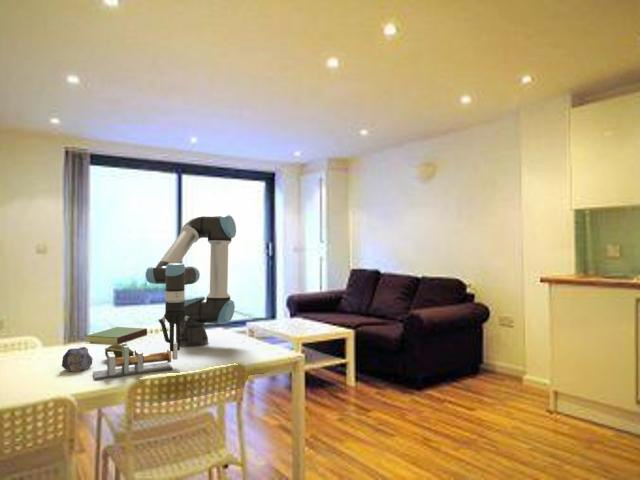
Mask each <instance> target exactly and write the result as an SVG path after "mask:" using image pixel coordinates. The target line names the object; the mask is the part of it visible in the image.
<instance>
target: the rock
mask: <svg viewBox="0 0 640 480" xmlns="http://www.w3.org/2000/svg"><path fill="white" fill-rule="evenodd" d="M92 365H93V357H92V356H91V354H90V352H89V349H88V347H85V346H81V347H79V348H70V349H68V350H67V351H66V352H65V353H64V354H63V356H62V364H61V367H62V368H63V369H65V371H68V372H70V373H75V372H76V373H77V372H83V371H86V370H87V369H88V368H90V367H91V366H92Z"/></svg>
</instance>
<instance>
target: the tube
mask: <svg viewBox="0 0 640 480" xmlns="http://www.w3.org/2000/svg"><path fill="white" fill-rule="evenodd" d="M163 362H168V363H169V364H170V363H171V362H172V351H170V349H167V350H166V351H163V352H157V353H147V354H143V365H147V364H155V363H163ZM135 365H137V355H136V356H135V355H134V356H129V366H135ZM122 366H124V357H119V358H115V368H119V367H120V368H122Z"/></svg>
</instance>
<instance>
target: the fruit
mask: <svg viewBox="0 0 640 480" xmlns="http://www.w3.org/2000/svg"><path fill="white" fill-rule="evenodd" d="M107 352H113V353H114V355H115V358H119V357H122V344H112V345H110V346H108V347H106V348H104V355H105V358H107ZM129 356H135V351H133V350H132V349H131V348H129Z"/></svg>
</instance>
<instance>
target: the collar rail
mask: <svg viewBox="0 0 640 480" xmlns="http://www.w3.org/2000/svg"><path fill="white" fill-rule="evenodd" d="M121 345H122V357H124V366H121V367H120V368H119V367H117V368H116V367H115V355H114V353H113V352H107V357H106V358H107V359H106V361H107V362H106V364H107V365H106V367H107V369H103V370H96V371H92V376H93V381H102V380H107V379H109V380H110V379H116V378H123V377H131V376H139V375H146V374H153V373H161V372H167V371H169V372H170V371H173V366H172V365H171V364H170V363H168V362H167V361H165V362H157V363H149V364H143V355H144V352H143V351H142V349H141V348H135V349H134V356H136V355H137V365H133V366H130V365H129V349H130V346H129V345H128V343H127V342H123V343H121Z"/></svg>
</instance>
